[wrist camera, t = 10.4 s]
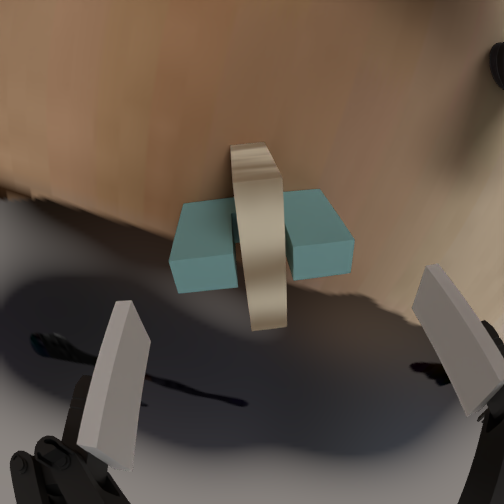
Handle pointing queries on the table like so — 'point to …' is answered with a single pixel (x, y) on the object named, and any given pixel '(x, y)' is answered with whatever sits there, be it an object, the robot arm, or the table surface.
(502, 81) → the camera lens
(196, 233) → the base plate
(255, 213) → the upper plate
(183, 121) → the table surface
